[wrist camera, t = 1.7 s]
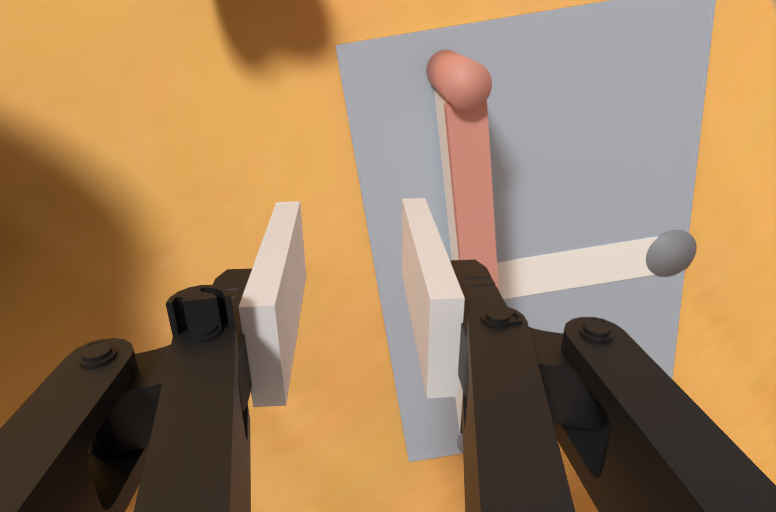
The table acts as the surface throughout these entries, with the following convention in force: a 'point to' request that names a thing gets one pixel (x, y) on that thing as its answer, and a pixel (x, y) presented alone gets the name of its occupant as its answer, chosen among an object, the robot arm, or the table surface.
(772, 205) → the table surface
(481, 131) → the fence panel
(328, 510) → the table surface
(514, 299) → the card
